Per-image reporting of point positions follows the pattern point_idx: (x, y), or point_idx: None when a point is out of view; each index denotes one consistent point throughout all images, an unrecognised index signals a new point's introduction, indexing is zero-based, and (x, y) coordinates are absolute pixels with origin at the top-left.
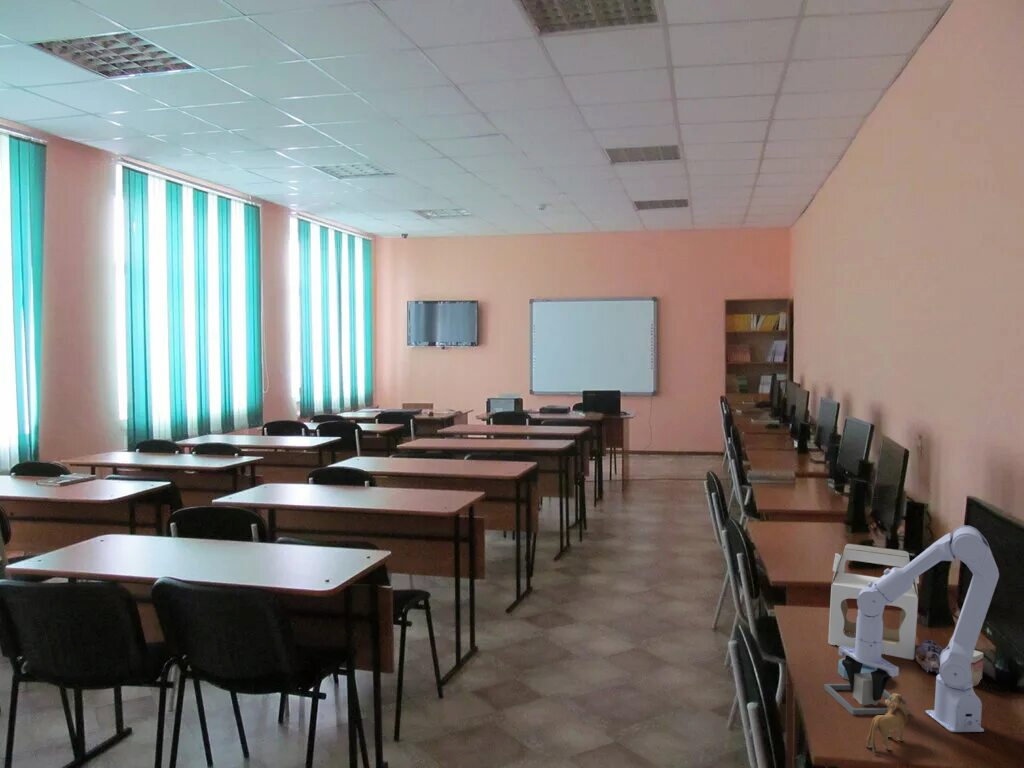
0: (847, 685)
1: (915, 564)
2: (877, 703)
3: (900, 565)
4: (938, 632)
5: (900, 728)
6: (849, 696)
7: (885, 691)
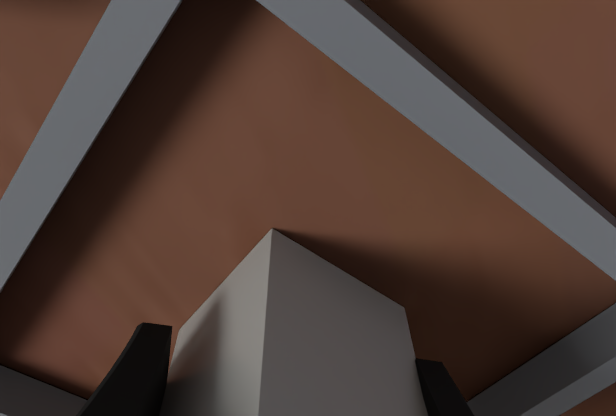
0: (11, 267)
1: None
2: (403, 323)
3: None
4: None
5: None
6: None
7: (404, 85)
